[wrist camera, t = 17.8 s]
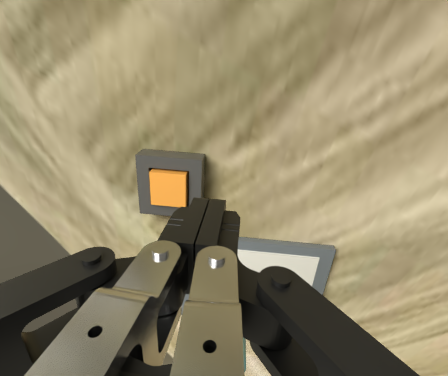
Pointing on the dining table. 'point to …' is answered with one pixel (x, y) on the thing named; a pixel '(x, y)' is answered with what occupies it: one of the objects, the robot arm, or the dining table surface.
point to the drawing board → (287, 259)
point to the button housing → (173, 162)
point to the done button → (169, 187)
